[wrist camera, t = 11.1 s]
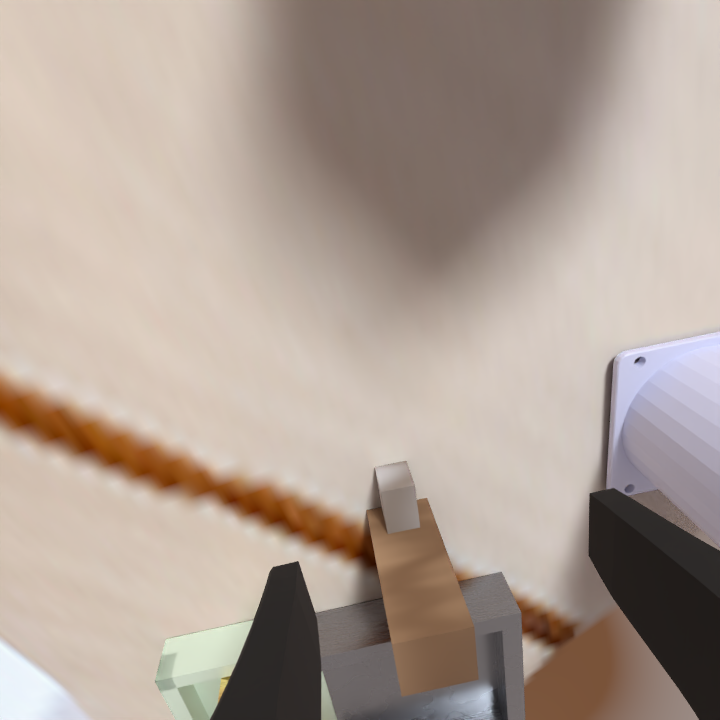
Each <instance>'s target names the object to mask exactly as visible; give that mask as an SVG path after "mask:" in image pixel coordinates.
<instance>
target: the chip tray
mask: <svg viewBox="0 0 720 720" xmlns="http://www.w3.org/2000/svg"><path fill="white" fill-rule="evenodd" d="M253 621H254V620H251V621H247V622H242V623H237V624H233V625H228V626H224V627H219V628H215V629H210V630H206V631H201V632H197V633H192V634H187V635H183V636H178V637H174V638H169V639H166V641H165V645H164V649H163V653H162V656H161V660H160V664H159V668H158V671H157V675H156V679H155V683H156V684H157V686H158V688H159V690H160V692H161V694H162V696H163V697H164V699H165V701H166V703H167V705H168V707H169V709H170V711H171V712H172V714H173V716H174V718H175V720H210V718H211V716H212V714H213V712H214V710H215V708H216V706H217V704H218V697H219V690H220V683H221V678H223V677H228V676H231V674H232V672H233V670H234V667H235V665H236V663H237V661H238V658H239V656H240V653H241V651H242V648H243V646H244V643H245V641H246V638H247V636H248V633H249V631H250V628H251V626H252V623H253ZM321 720H337V717H336V713H335V710H334V707H333V704H332V700H331V697H330V694H329V691H328V687H327V684H326V681H325V677H324V674H323V671H321Z"/></svg>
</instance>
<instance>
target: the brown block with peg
mask: <svg viewBox="0 0 720 720" xmlns="http://www.w3.org/2000/svg"><path fill="white" fill-rule="evenodd" d="M375 472H376V478H377V483H378V489H379V495H380V501H381V507H380V508H375V509H370V510H366V511H367V516H368V522H369V527H370V532H371V537H372V543H373V548H374V553H375V559H376V564H377V569H378V574H379V580H380V585H381V590H382V596H383V601H384V606H385V611H386V617H387V622H388V627H389V632H390V638H391V643H392V648H393V653H394V659H395V664H396V669H397V675H398V680H399V685H400V690H401V696H402V697H403V696H407V695H412V694H416V693H421V692H425V691H430V690H435V689H439V688H444V687H448V686H453V685H457V684H462V683H466V682H471V681H475V680H479V677H478V665H477V653H476V641H475V628H474V624H473V622H472V619H471V616H470V613H469V611H468V608H467V605H466V603H465V600H464V597H463V594H462V592H461V589H460V586H459V584H458V581H457V578H456V575H455V573H454V570H453V567H452V565H451V562H450V559H449V556H448V554H447V551H446V548H445V546H444V543H443V540H442V538H441V535H440V532H439V529H438V527H437V524H436V521H435V519H434V516H433V513H432V510H431V508H430V505H429V502H428V500H427V498H424V499H419V500H417V498H416V491H415V484H414V482H413V479H412V476H411V473H410V470H409V467H408V464H407V461H403V462H398V463H393V464H388V465H383V466H378V467H375Z"/></svg>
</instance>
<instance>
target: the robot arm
mask: <svg viewBox="0 0 720 720" xmlns="http://www.w3.org/2000/svg"><path fill="white" fill-rule="evenodd" d="M638 357H640V359H639V361H638V362H637V363H635V364H634V362H635V360H636V359H637V358H638ZM627 485H628V486H627ZM626 486H627V487H626ZM658 489H659V490H660V491H661V492H662V493H663V494H664V495H665V496H666V497H667V498H668V499H669V500H670V501H671V502H672V503H673V504H674V505H675V506H677V507H678V508H679V509H680V510H681V511H682V512H683V513H684V514H685V515H686V516H687V517H688V518H689V519H690V520H691V521H692V522H693V523H694V524H695V525H697V526H698V527H699V528H700V529H701V530H702V531H703V532H704V533H705V534H706V535H707V536H708V537H709V538H710V539H711V540H712V541H713V542H715V544H717V545H718V546H719V547H720V332H715V333H710V334H705V335H701V336H696V337H691V338H686V339H681V340H676V341H671V342H666V343H661V344H656V345H651V346H647V347H642V348H637V349H632V350H627V351H623V352H621V353H619V354H618V355H617V356H616V358H615V359H614V363H613V378H612V395H611V413H610V430H609V447H608V465H607V482H606V490H603V491H598V492H594V493H590V503H589V557H590V559H591V561H592V562H593V564H594V566H595V568H596V570H597V571H598V573H599V575H600V577H601V579H602V580H603V582H604V584H605V586H606V587H607V589H608V591H609V592H610V594H611V596H612V597H613V599H614V600H615V602H616V603H617V604H618V606H619V607H620V609H621V610H622V611H623V613H624V614H625V616H626V617H627V618H628V620H629V621H630V622H631V624H632V625H633V627H634V628H635V629H636V631H637V632H638V634H639V635H640V636H641V638H642V639H643V640H644V642H645V643H646V644H647V646H648V647H649V649H650V650H651V651H652V653H653V654H654V655H655V657H656V658H657V659H658V661H659V662H660V664H661V665H662V666H663V668H664V669H665V671H666V672H667V673H668V675H669V676H670V677H671V679H672V680H673V682H674V683H675V684H676V686H677V687H678V688H679V690H680V691H681V693H682V694H683V696H684V697H685V699H686V700H687V702H688V703H689V704H690V706H691V708H692V709H693V711H694V712H695V714H696V715H697V717H698V718H699V720H720V551H719V550H717V549H715V548H714V547H712V546H710V545H708V544H706V543H705V542H703V541H701V540H700V539H698V538H696V537H694V536H693V535H691V534H689V533H688V532H686V531H684V530H683V529H681V528H679V527H677V526H676V525H674V524H672V523H671V522H669V521H668V520H666V519H664V518H663V517H661V516H659V515H658V514H656V513H654V512H653V511H651V510H649V509H648V508H646V507H645V506H643V505H641V504H640V503H638V502H636V501H635V500H633V499H632V498H630V497H628V496H630V495H635V494H639V493H644V492H648V491H653V490H658ZM210 720H321V655H320V643H319V633H318V623H317V618H316V614H315V611H314V608H313V605H312V602H311V599H310V596H309V593H308V590H307V587H306V583H305V580H304V577H303V574H302V571H301V568H300V565H299V562H298V561H297V562H293V563H289V564H285V565H280V566H276V567H273V568H272V569H271V571H270V573H269V576H268V580H267V583H266V586H265V589H264V592H263V595H262V598H261V601H260V604H259V607H258V610H257V612H256V615H255V618H254V621H253V623H252V626H251V628H250V631H249V633H248V636H247V638H246V641H245V643H244V646H243V648H242V651H241V653H240V656H239V658H238V661H237V663H236V665H235V667H234V670H233V672H232V674H231V676H230V678H229V680H228V683H227V685H226V687H225V689H224V691H223V694H222V696H221V698H220V700H219V702H218V704H217V706H216V708H215V710H214V712H213V714H212V716H211V718H210Z"/></svg>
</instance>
